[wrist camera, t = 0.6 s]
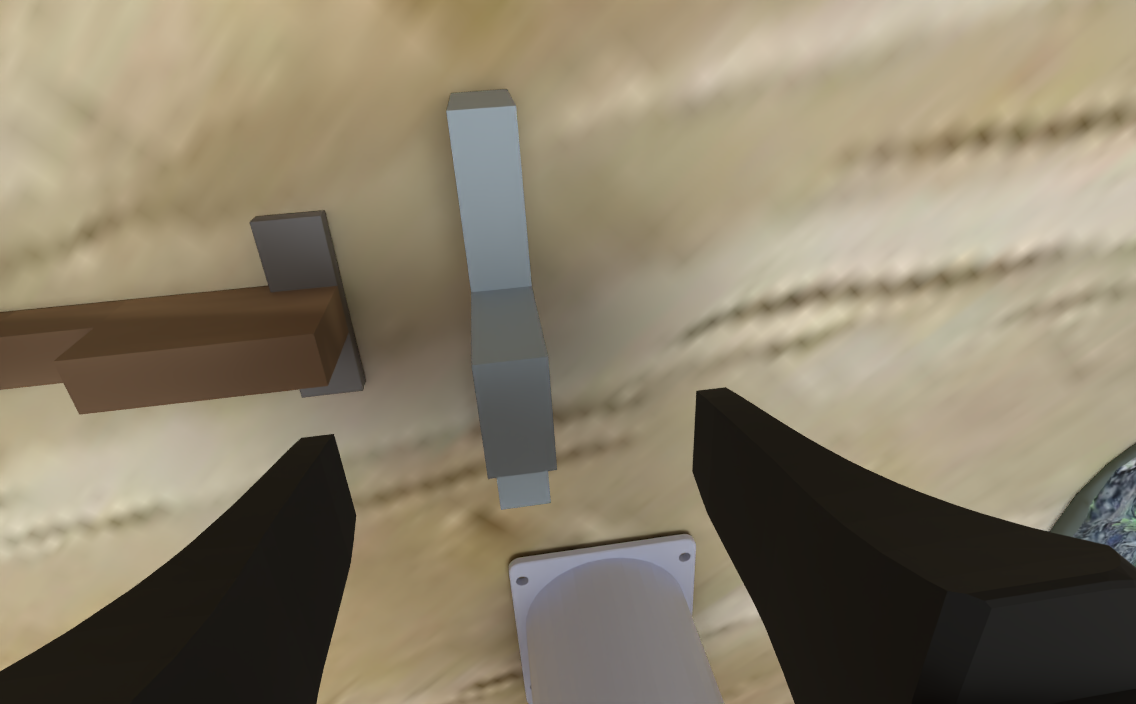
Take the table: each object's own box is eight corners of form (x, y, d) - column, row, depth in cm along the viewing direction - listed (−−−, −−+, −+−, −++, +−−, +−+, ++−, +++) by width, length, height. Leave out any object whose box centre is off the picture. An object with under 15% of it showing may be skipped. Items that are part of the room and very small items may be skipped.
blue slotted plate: (538, 431, 24) (567, 604, 17) (496, 437, 24) (507, 613, 17) (506, 89, 18) (529, 132, 11) (451, 93, 18) (439, 140, 11)
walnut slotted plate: (365, 381, 22) (345, 450, 18) (-143, 439, 20) (-270, 527, 17) (324, 210, 19) (291, 253, 15) (-269, 262, 17) (-454, 323, 14)
